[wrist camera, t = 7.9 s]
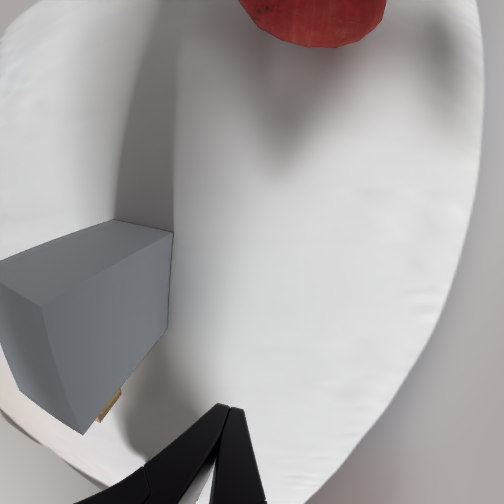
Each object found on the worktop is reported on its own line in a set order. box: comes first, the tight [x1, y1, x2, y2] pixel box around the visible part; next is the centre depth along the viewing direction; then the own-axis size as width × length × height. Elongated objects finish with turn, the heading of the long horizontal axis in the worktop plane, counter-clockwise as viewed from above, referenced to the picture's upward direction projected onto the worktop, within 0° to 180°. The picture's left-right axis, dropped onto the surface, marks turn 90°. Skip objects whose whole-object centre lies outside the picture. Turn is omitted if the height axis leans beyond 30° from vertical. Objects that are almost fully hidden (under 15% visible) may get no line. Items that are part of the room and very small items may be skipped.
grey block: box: [0, 220, 173, 435], centre depth 11 cm, size 6×4×9 cm, turn 170°
